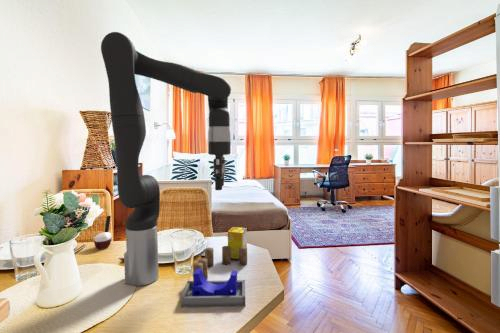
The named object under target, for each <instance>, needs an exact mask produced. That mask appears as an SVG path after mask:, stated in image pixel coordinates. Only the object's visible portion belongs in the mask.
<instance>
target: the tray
mask: <svg viewBox="0 0 500 333" xmlns="http://www.w3.org/2000/svg"><path fill="white" fill-rule="evenodd" d="M228 280H229V279H228ZM228 280H227V279H226V280H208V281H209V282H210V283H212V284H223V283H225V282H227V281H228ZM193 284H194V281H193V280H187V283H186V285H185V288H184V290H183V292H182V296H181V298H180V300H181V301H180V302H181V305H180V306H181V308H203V307H204V308H206V307H207V308H209V307H212V308H214V307H220V308H221V307H246V280H245V279H244V280H243V279H242V280H238V279H237V293H236V296H224V295H214V296H192V286H193Z"/></svg>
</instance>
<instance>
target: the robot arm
mask: <svg viewBox="0 0 500 333" xmlns="http://www.w3.org/2000/svg"><path fill="white" fill-rule="evenodd" d="M100 52H101V56H102V60H103V63H104V67H105V73H106V76H107V81H108V91H109V92H108V94H109V107H110V117H111V126H112V132H113V139H114V146H115V155H116V171H117V172H116V173H117V174H116V177H117V181H116V182H117V193H118V197H119V200H120V202H121V204H122V205H123V206H125V208H128V209H133V211H132V212H131V214H130V215H129V216H127V217H126V219H125V239H126V240H125V244H126V246H125V247H126V250H125V252H124V253H123V259H124V261H123V263H124V284H129V285H131V286H136V287H138V286H139V287H140V286H147V285H150V284H151V283H152V284H153V282H154V283H155V281H157V280H158V278H159V276H160V275H159V249H158V248H159V246H158V242H159V241H158V239H159V238H158V219H159V216H160V211H161V210H160V209H161V208H160V206H161V205H160V202H161V200H160V199H161V190H160V184H159V182H158V181H157V179H156V178H155V177H154V176H152V175H149V174H143V175H140V168H139V166H140V165H139V159H140V154H141V151H142V148H143V145H144V143H145V139H146V135H147V127H146V126H147V125H146V120H145V119H146V118H145V114H144V109H143V105H142V100H141V97H140V93H139V90H138V86H137V84H136V76H141V77H145V78H148V79H149V78H150V79H152V80H155V81H159V82H162V83H165V84H167V85H169V86H173V87H176V88H177V89H181V90H184V91H187V92H189V93H193V94H202V95H203V96H204V95H205V96H207V101H208V102H207V105H208V131H207V142H208V143H207V147H208V149H207V152H208V155H210V156H211V155H212V156H214V157H215V158H213V162H212V163H213V178H214V188H215V189H214V190H215V191H222V189H223V187H224V185H225V179H224V177H225V172H226V162H227V161H226V158H225V156H227V155H231V154H232V153H231V150H232V149H231V129H230V128H231V127H230V126H231V124H230V122H231V117H230V111H229V108H228V107H229V105H228V104H229V101H228V100H229V97H230V95H231V91H232V87H231V85H230V83H229V82H228V81H227V80H226V79H224V78H223V77H220V76H216V75H213V74H209V73H204V72H200V71H198V70H195V69H194V68H191V67H188V66H185V65H183V64H179V63H177V62H176V63H175V62H169V61H163V60H158V59H155V58H151V57H149V56H147V55H145V54H143V53H141V52H139V51H138V50H136V47H135V44H133V42H132V41H131V39H129V37H128V36H127V35H125V34H123V33H122V32H118V31H112V32H109V33H107V34H106V35H105V36H104V37H103V38H102V41H101V44H100ZM135 75H136V76H135Z"/></svg>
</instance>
